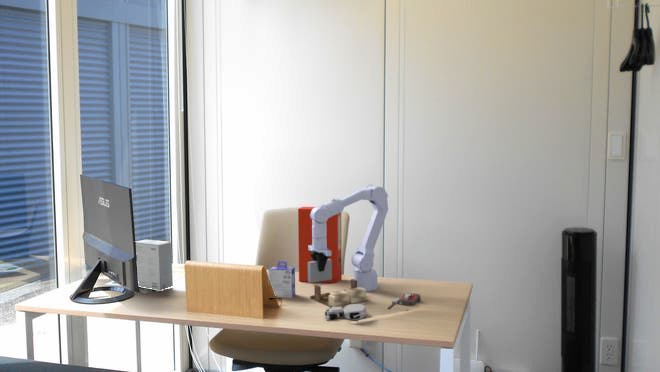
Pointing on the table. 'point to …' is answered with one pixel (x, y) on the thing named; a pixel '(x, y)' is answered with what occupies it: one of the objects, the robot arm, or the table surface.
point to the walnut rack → (324, 297)
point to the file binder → (306, 239)
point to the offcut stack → (347, 296)
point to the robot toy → (347, 312)
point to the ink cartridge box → (283, 280)
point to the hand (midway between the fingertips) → (319, 270)
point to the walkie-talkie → (407, 300)
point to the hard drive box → (154, 264)
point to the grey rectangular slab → (319, 276)
